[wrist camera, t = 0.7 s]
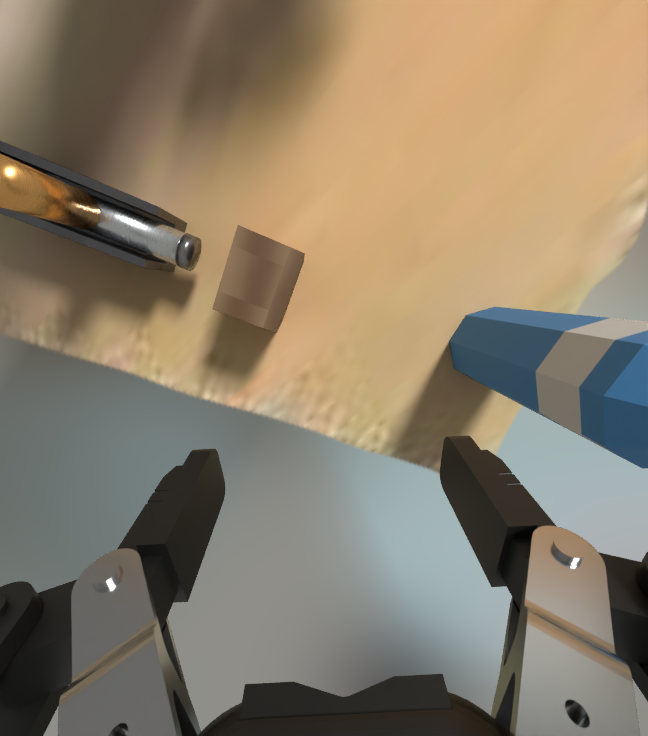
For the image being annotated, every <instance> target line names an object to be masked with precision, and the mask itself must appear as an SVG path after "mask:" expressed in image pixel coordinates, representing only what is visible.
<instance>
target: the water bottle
mask: <svg viewBox="0 0 648 736" xmlns="http://www.w3.org/2000/svg"><path fill="white" fill-rule="evenodd" d="M450 347H451V353H452V359H453V365H454V368H455V369H457V370H458V371H460V372H462V373H464V374H465V375H467V376H469V377H470V378H472V379H474V380H476V381H478V382H479V383H481V384H483V385H485V386H487V387H489V388H491V389H493V390H495V391H496V392H498V393H500V394H502V395H504V396H506V397H508V398H510V399H512V400H514V401H515V402H517V403H519V404H521V405H523V406H525V407H527V408H529V409H531V410H533V411H535V412H536V413H538V414H540V415H542V416H544V417H546V418H548V419H550V420H552V421H553V422H555V423H557V424H559V425H561V426H563V427H565V428H567V429H569V430H571V431H572V432H574V433H576V434H578V435H580V436H582V437H584V438H586V439H588V440H590V441H591V442H593V443H595V444H597V445H599V446H601V447H603V448H605V449H607V450H609V451H610V452H612V453H614V454H616V455H618V456H620V457H622V458H624V459H626V460H628V461H629V462H631V463H633V464H635V465H637V466H639V467H641V468H648V322H645V321H635V320H624V319H614V318H603V317H593V316H582V315H573V314H563V313H552V312H542V311H532V310H521V309H511V308H501V307H493V308H489V309H486V310H482V311H479V312H476V313H472V314H469V315H466V316H465V318H464V320H463V321H462V323H461V324H460V326H459V327H458V329H457V330H456V332H455V333H454V335H453V336H452V338H451V340H450Z"/></svg>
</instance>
